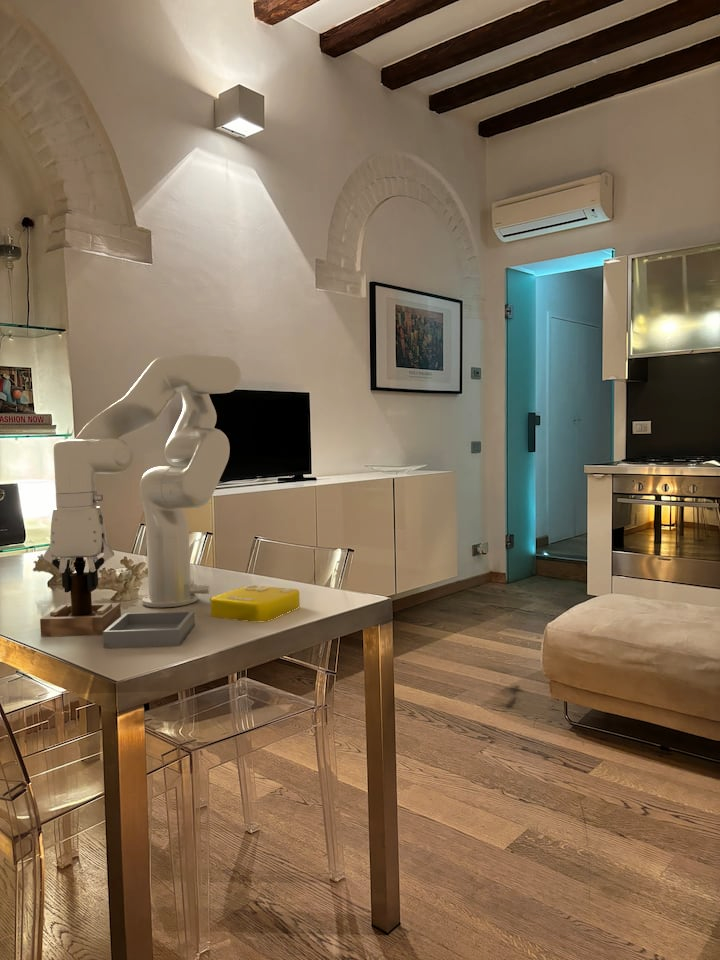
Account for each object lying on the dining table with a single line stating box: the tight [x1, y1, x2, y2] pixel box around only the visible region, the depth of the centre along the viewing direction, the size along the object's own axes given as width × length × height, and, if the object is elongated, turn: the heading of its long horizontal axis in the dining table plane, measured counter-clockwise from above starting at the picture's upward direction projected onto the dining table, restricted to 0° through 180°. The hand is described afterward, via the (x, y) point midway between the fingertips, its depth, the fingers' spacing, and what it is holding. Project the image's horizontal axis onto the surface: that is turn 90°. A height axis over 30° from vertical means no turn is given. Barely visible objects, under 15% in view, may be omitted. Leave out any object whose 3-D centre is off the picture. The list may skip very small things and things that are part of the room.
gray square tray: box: [102, 610, 196, 649], centre depth 141 cm, size 14×14×3 cm
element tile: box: [209, 584, 301, 622], centre depth 159 cm, size 15×15×5 cm
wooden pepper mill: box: [67, 557, 97, 617], centre depth 148 cm, size 7×6×18 cm
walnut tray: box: [39, 602, 122, 638], centre depth 149 cm, size 12×12×4 cm
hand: (80, 589), depth 149 cm, fingers closed on wooden pepper mill, 4 cm apart
